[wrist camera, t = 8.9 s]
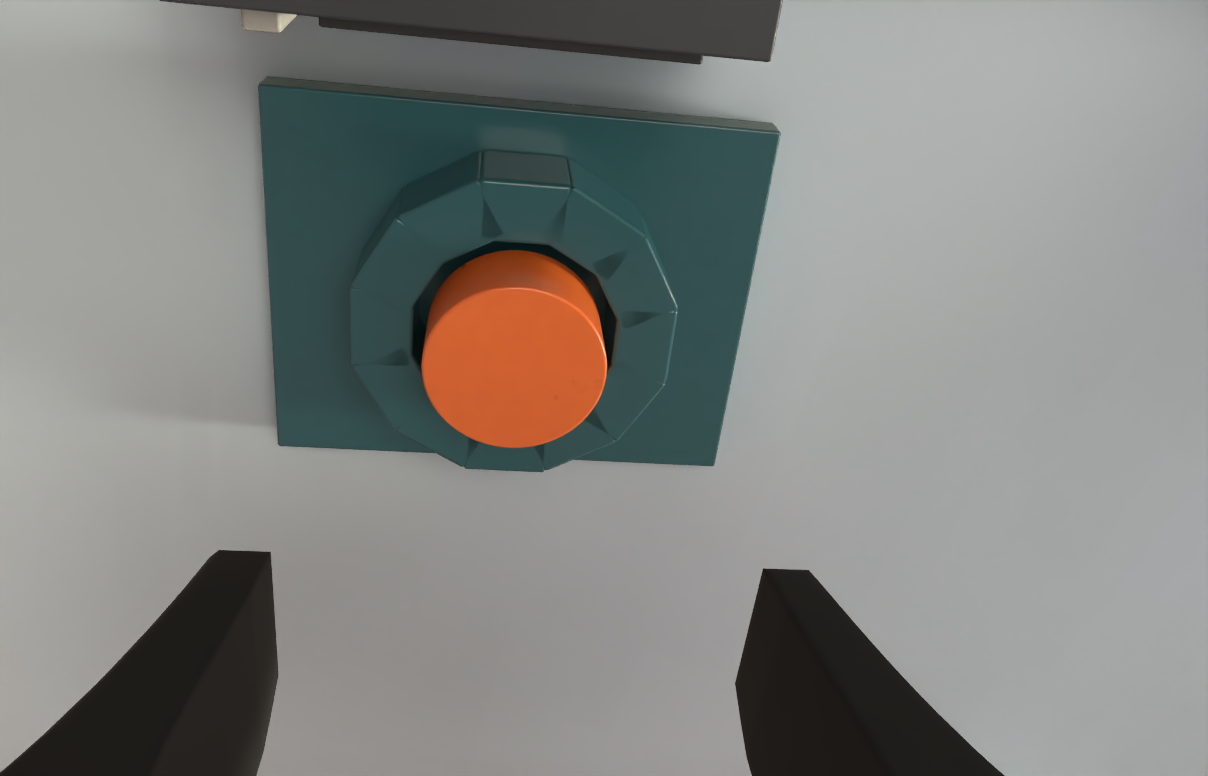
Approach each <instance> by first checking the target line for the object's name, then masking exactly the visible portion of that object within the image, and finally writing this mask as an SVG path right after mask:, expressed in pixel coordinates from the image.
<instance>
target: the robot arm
mask: <svg viewBox="0 0 1208 776" xmlns="http://www.w3.org/2000/svg"><path fill="white" fill-rule="evenodd" d="M277 679H278V661H277V645H276V630H275V614H274V598H273V583H272V567H271V552H257V551H227V550H219V551H217V552H216V553H215V554H213V555H212V556H211V557H210V558H209V559H208V560H207V561H206V563H205V564H204V565H203V566H202V567H201V569H200V570H199V571H198V572H197V574H196V575H195V576H194V577H193V578H192V580H191V581H190V582H189V583H188V584H187V585H186V587H185V588H184V589H183V590H182V591H181V593H180V594H179V595H178V596H177V597H176V598H175V600H174V601H173V602H172V603H171V604H170V605H169V606H168V608H167V609H166V610H165V611H164V612H163V613H162V614H161V616H160V617H159V618H158V619H157V620H156V621H155V622H154V623H153V625H152V626H151V627H150V628H149V629H148V630H147V631H146V632H145V633H144V634H143V636H142V637H141V638H140V639H139V640H138V641H137V642H136V643H135V644H134V645H133V646H132V647H131V648H130V649H129V650H128V651H127V653H126V654H125V655H124V656H123V657H122V658H121V659H120V660H119V661H118V662H117V663H116V664H115V665H114V666H113V667H112V669H111V670H110V671H109V672H108V673H107V674H106V675H105V676H104V677H103V678H102V679H101V680H100V681H99V682H98V683H97V684H96V685H95V686H94V687H93V688H92V689H91V690H90V691H89V692H88V693H87V694H85V695H84V696H83V697H82V698H81V699H80V700H79V701H78V702H77V703H76V704H75V705H74V706H73V707H72V708H71V709H70V710H69V711H68V712H67V713H66V714H65V715H64V716H63V717H62V718H61V719H60V720H58V721H57V722H56V723H55V724H54V725H53V726H52V727H51V728H50V729H49V730H48V731H47V732H46V733H45V734H44V735H43V736H42V737H40V738H39V739H38V740H37V741H36V742H35V743H34V744H33V745H31V746H30V747H29V748H28V749H27V750H26V751H25V752H24V753H22V754H21V755H20V756H19V757H18V758H17V759H16V760H14V761H13V762H12V763H11V764H10V765H9V766H7V767H6V768H5V769H4V770H3V771H2V772H0V776H256V774H257V771H258V768H259V765H260V761H261V758H262V755H263V751H264V746H265V741H266V736H267V731H268V726H269V722H270V717H271V711H272V706H273V701H274V695H275V690H276V685H277ZM735 685H736V692H737V699H738V705H739V712H740V719H741V726H742V732H743V738H744V743H745V749H746V755H747V760H748V763H749V767H750V771H751V774H752V776H1004V775H1003V774H1002V773H1001V772H999V771H998V770H997V769H996V768H995V767H994V766H993V765H992V764H991V763H989V762H988V761H987V760H986V759H985V758H984V757H983V756H982V755H981V754H979V753H978V752H977V751H976V750H975V749H974V748H973V747H972V746H971V745H970V744H969V743H968V742H967V741H966V740H965V739H964V738H963V737H962V736H961V735H960V734H959V733H958V732H956V731H955V730H954V729H953V728H952V727H951V726H950V725H949V724H948V723H947V722H946V721H945V720H944V719H943V718H942V717H941V716H940V715H939V714H938V713H937V712H936V711H935V710H934V709H933V708H932V707H931V706H930V705H929V704H928V703H927V702H926V701H925V700H924V699H923V698H922V697H921V696H920V695H919V694H918V693H917V692H916V690H915V689H914V688H913V687H912V686H911V685H910V684H909V683H908V682H907V681H906V680H905V679H904V678H903V677H902V676H901V674H900V673H899V672H898V671H897V670H896V669H895V668H894V667H893V666H892V665H891V664H890V663H889V661H888V660H887V659H886V658H885V657H884V656H883V655H882V654H881V653H880V651H879V650H878V649H877V648H876V647H875V646H874V645H873V644H872V642H871V641H870V640H869V639H868V638H867V637H866V636H865V634H864V633H863V632H862V631H861V630H860V629H859V628H858V626H857V625H856V624H855V623H854V622H853V621H852V620H851V618H850V617H849V616H848V615H847V614H846V613H845V611H844V610H843V609H842V608H841V607H840V606H839V604H838V603H837V602H836V601H835V600H834V599H833V598H832V596H831V595H830V594H829V593H828V592H827V591H826V589H825V588H824V587H823V586H822V585H821V584H820V582H819V581H818V580H817V579H816V578H815V577H814V576H813V575H812V573H811V572H810V571H809V570H787V569H763V571H762V576H761V580H760V584H759V588H758V592H757V596H756V600H755V604H754V608H753V613H752V617H751V621H750V625H749V629H748V633H747V637H746V641H745V645H744V649H743V654H742V658H741V662H740V666H739V670H738V674H737V678H736V682H735Z"/></svg>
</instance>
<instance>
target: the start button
mask: <svg viewBox="0 0 1208 776" xmlns="http://www.w3.org/2000/svg"><path fill="white" fill-rule="evenodd" d="M421 367H422V378H423V383H424V387H425V390H426V393H427V395H428V397H429V399H430V401H431V403H432V405H433V406H434V408H435V409H436V411H437V412H438V413H439V415H440V416H441V417H442V418H443V419H444V420H445V421H446V422H447V423H448V424H449V425H451V426H452V427H453V428H454V429H456V430H457V431H459V432H460V433H462V434H463V435H465V436H467V437H469V438H471V439H473V440H475V441H478V442H481V443H484V444H488V445H492V446H497V447H506V448H523V447H531V446H536V445H540V444H544V443H547V442H550V441H553V440H555V439H557V438H559V437H561V436H563V435H565V434H567V433H568V432H570V431H571V430H573V429H574V428H575V427H577V426H578V425H579V424H580V423H581V422H582V421H583V420H584V419H585V418H586V417H587V416H588V415H589V414H590V412H591V411H592V410H593V408H594V407H595V405H596V404H597V402H598V400H599V398H600V396H601V394H602V391H603V388H604V385H605V381H606V376H607V358H606V351H605V345H604V340H603V334H602V329H601V323H600V318H599V313H598V309H597V305H596V303H595V300H594V298H593V296H592V294H591V292H590V291H589V289H588V287H587V286H586V285H585V283H584V282H583V281H582V280H581V278H580V277H579V276H578V275H577V274H575V273H574V272H573V271H572V270H571V269H569V268H568V267H567V266H565V265H564V264H562V263H560V262H559V261H557V260H555V259H553V258H550V257H548V256H545V255H542V254H539V253H535V252H530V251H522V250H505V251H497V252H493V253H488V254H485V255H482V256H479V257H477V258H474V259H472V260H470V261H469V262H467V263H465V264H463V265H462V266H461V267H459V268H458V269H456V270H455V271H454V272H453V273H452V274H451V275H450V276H449V277H448V278H447V279H446V280H445V281H444V282H443V284H442V285H441V286H440V288H439V289H438V291H437V293H436V294H435V297H434V299H433V301H432V304H431V307H430V311H429V315H428V321H427V328H426V334H425V341H424V347H423V354H422V364H421Z"/></svg>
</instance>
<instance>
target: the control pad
mask: <svg viewBox="0 0 1208 776" xmlns="http://www.w3.org/2000/svg"><path fill="white" fill-rule="evenodd" d="M258 91H259V109H260V127H261V145H262V163H263V181H264V199H265V218H266V236H267V254H268V272H269V290H270V308H271V326H272V344H273V362H274V380H275V398H276V416H277V434H278V444H279V446H294V447H315V448H336V449H358V450H379V451H400V452H421V453H437V454H439V455H441V456H442V457H444V458H446V459H448V460H450V461H452V462H454V463H456V464H457V465H459V466H461V467H465V468H466V469H483V470H505V471H527V472H544V470H549V469H551V468H554V467H556V466H559V465H561V464H564V463H566V462H568V461H571V460H592V461H613V462H634V463H655V464H677V465H698V466H714V464H715V459H716V454H717V449H718V444H719V439H720V434H721V429H722V424H723V419H724V414H725V409H726V404H727V399H728V394H729V389H730V384H731V379H732V374H733V369H734V364H735V359H736V354H737V349H738V344H739V339H740V334H741V329H742V324H743V319H744V314H745V309H746V304H747V299H748V294H749V289H750V284H751V279H752V274H753V269H754V264H755V259H756V254H757V249H758V244H759V239H760V234H761V229H762V224H763V219H764V214H765V209H766V204H767V199H768V194H769V189H770V184H771V179H772V174H773V169H774V164H775V159H776V154H777V149H778V144H779V139H780V131H779V130H778V129H777V128H776V127H775V125H774V124H773V123H767V122H756V121H745V120H734V119H723V118H712V117H702V116H691V115H680V114H669V113H658V112H647V111H637V110H626V109H615V108H604V107H593V106H583V105H572V104H561V103H550V102H539V101H528V100H518V99H507V98H496V97H485V96H474V95H464V94H453V93H442V92H431V91H420V90H409V89H399V88H388V87H377V86H366V85H355V84H344V83H334V82H323V81H312V80H301V79H290V78H280V77H269V76H267V77H265V78H264V79H263V81H262V82H261V83H260V84H259V86H258ZM505 250H522V251H530V252H535V253H539V254H542V255H545V256H548V257H550V258H553V259H555V260H557V261H559V262H560V263H562V264H564V265H565V266H567V267H568V268H569V269H571V270H572V271H573V272H574V273H575V274H577V275H578V276H579V277H580V278H581V280H582V281H583V282H584V283H585V285H586V286H587V287H588V289H589V291H590V292H591V294H592V296H593V298H594V300H595V303H596V305H597V309H598V313H599V318H600V323H601V329H602V334H603V340H604V345H605V351H606V358H607V376H606V381H605V385H604V388H603V391H602V394H601V396H600V398H599V400H598V402H597V404H596V405H595V407H594V408H593V410H592V411H591V412H590V414H589V415H588V416H587V417H586V418H585V419H584V420H583V421H582V422H581V423H580V424H579V425H578V426H577V427H575V428H574V429H573V430H571V431H570V432H568V433H567V434H565V435H563V436H561V437H559V438H557V439H555V440H553V441H550V442H547V443H544V444H540V445H536V446H531V447H523V448H506V447H497V446H492V445H488V444H484V443H481V442H478V441H475V440H473V439H471V438H469V437H467V436H465V435H463V434H462V433H460V432H459V431H457V430H456V429H454V428H453V427H452V426H451V425H449V424H448V423H447V422H446V421H445V420H444V419H443V418H442V417H441V416H440V415H439V413H438V412H437V411H436V409H435V408H434V406H433V405H432V403H431V401H430V399H429V397H428V395H427V393H426V390H425V387H424V383H423V378H422V367H421V364H422V354H423V347H424V341H425V334H426V328H427V321H428V315H429V311H430V307H431V304H432V301H433V299H434V297H435V294H436V293H437V291H438V289H439V288H440V286H441V285H442V284H443V282H444V281H445V280H446V279H447V278H448V277H449V276H450V275H451V274H452V273H453V272H454V271H455V270H456V269H458V268H459V267H461V266H462V265H463V264H465V263H467V262H469V261H470V260H472V259H474V258H477V257H479V256H482V255H485V254H488V253H493V252H497V251H505Z"/></svg>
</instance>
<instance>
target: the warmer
mask: <svg viewBox="0 0 1208 776" xmlns="http://www.w3.org/2000/svg"><path fill="white" fill-rule="evenodd" d="M160 1H165V2H175V3H185V4H195V5H205V6H215V7H225V8H235V9H241V22H242V27H243V29H245V30H253V31H263V32H273V33H279V32H281V31H282V30H283V29H284V28H285V27H286V26H287V25H288V24H289V23H290V22H291V21H292V20H293V19H294V18H295V17H296V16H297V15H304V16H314V17H319V26H321V27H328V28H338V29H348V30H358V31H368V32H378V33H388V34H398V35H408V36H418V37H428V38H439V39H449V40H459V41H469V42H479V43H489V44H499V45H509V46H519V47H529V48H539V49H550V50H560V51H570V52H580V53H590V54H600V55H610V56H620V57H630V58H640V59H650V60H660V61H671V62H681V63H691V64H701V63H702V58H703V56H713V57H723V58H733V59H743V60H753V61H763V62H769V61H771V59H772V55H773V49H774V44H775V39H776V33H777V28H778V23H779V18H780V12H781V7H782V2H783V0H160Z"/></svg>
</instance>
